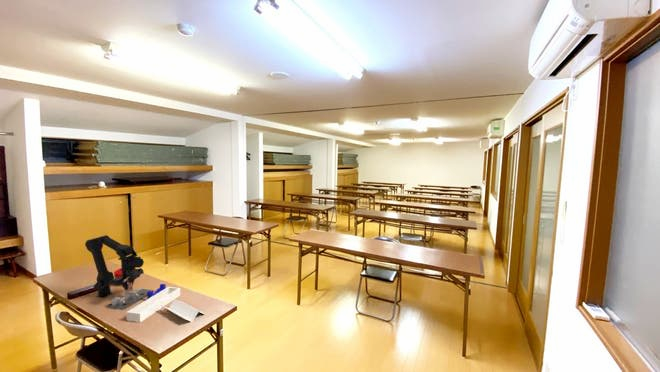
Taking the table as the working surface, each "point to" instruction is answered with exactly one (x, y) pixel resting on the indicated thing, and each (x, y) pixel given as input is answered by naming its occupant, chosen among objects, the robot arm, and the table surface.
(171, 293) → the block frame
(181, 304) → the z bracket
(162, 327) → the table surface
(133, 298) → the plate
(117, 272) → the ceramic cup
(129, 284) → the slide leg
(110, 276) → the robot arm
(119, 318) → the table surface
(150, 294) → the cable clip
